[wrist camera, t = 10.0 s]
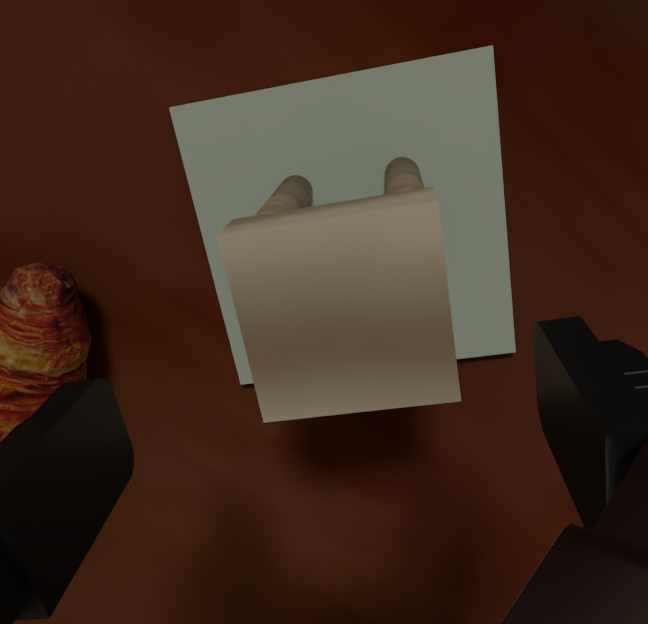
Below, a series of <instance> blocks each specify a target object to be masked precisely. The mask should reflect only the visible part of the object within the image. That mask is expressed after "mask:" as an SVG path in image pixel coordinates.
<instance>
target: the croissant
mask: <svg viewBox="0 0 648 624" xmlns="http://www.w3.org/2000/svg"><path fill="white" fill-rule="evenodd" d="M91 339H92V338H91V335H90V331H89V328H88V324H87V319H86V315H85V311H84V308H83V306H82V304H81V301H80V299H79V295H78V291H77V287H76V282H75V280H74V278H73V276H72V274H71V273H70V272H67V271H65V270H64V269H63V268H62V266H58V265H50V266H47V265H46V264H44V263H33V264H30V265H27V266H25V267H20V268H16V269H15V271H14V273H13V275H12V276H11V278H10V280H9V282H8V283H7V285H6V286H5V287H3V289H0V442H1V441H2V440H3V439H4V438H5V437H6V436H7V435H8V434H9V433H10V432H11V430H12V429H13V428H14V427H16V426H17V425H19V424H20V423H22V422H23V421H25V420H26V419H28V418H29V417H30V416H31V415H32V414H33V413H34V412H35V411H36V410H37V409H38V408H39V407H40V406H41V405H42V404H43V403H44V402H45V400H46V399H47V398H48V397H49V396H50V395H51V394H52V393H53V392H54V391H55V390H56V389H57V388H58V387H59V386H60V385H61V384H63V383H67V382H75V381H82V380H86V379H87V365H86V358H87V356H88V353H89V349H90V344H91Z"/></svg>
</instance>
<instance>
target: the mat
mask: <svg viewBox="0 0 648 624" xmlns="http://www.w3.org/2000/svg"><path fill="white" fill-rule="evenodd" d="M169 110H170V114H171V118H172V121H173V125H174V129H175V133H176V137H177V141H178V144H179V148H180V152H181V156H182V160H183V164H184V168H185V171H186V175H187V179H188V183H189V187H190V191H191V195H192V198H193V202H194V206H195V210H196V214H197V218H198V222H199V225H200V229H201V233H202V237H203V241H204V245H205V249H206V252H207V256H208V260H209V264H210V268H211V272H212V275H213V279H214V283H215V287H216V291H217V295H218V299H219V302H220V306H221V310H222V314H223V318H224V322H225V326H226V329H227V333H228V337H229V341H230V345H231V349H232V353H233V356H234V360H235V364H236V368H237V372H238V376H239V380H240V383H241V385H243V384H251V383H254V382H253V378H252V374H251V370H250V366H249V362H248V358H247V354H246V350H245V346H244V342H243V338H242V334H241V330H240V326H239V322H238V318H237V314H236V310H235V306H234V302H233V298H232V294H231V290H230V286H229V282H228V278H227V274H226V270H225V266H224V262H223V258H222V254H221V251H220V247H219V243H218V239H217V235H218V234H219V233H220V232H221V231H222V230H223V228H224V227H225V226H226V225H227V224H228V223H229V222H230V221H231V220H232V219H237V218H243V217H249V216H255V215H256V213H257V212H258V211H259V210H260V208H261V207H262V206H263V205H264V204H265V202H266V201H267V200H268V199H269V198H270V196H271V195H272V194H273V193H274V191H275V190H276V189H277V188H278V187H279V185H280V184H281V183H282V182H283V180H285V179H286V178H287V177H289V176H292V175H299V176H302V177H304V178H306V179H307V180H308V181H309V183H310V184H311V186H312V190H313V195H312V199H311V201H310V203H309V205H308V207H311V206H318V205H324V204H330V203H336V202H342V201H349V200H355V199H361V198H367V197H373V196H380V195H385V170H386V167H387V165H388V164H389V163H390V162H391V161H392V160H393V159H395V158H398V157H407V158H410V159H411V160H413V161H414V162H415V163H416V164H417V166H418V169H419V172H420V175H421V178H422V182H423V185H424V188H429V187H433V188H434V191H435V193H436V196H437V199H438V203H439V212H440V221H441V230H442V238H443V247H444V256H445V265H446V273H447V282H448V291H449V300H450V308H451V317H452V326H453V335H454V343H455V352H456V359H463V358H471V357H480V356H488V355H497V354H505V353H514V352H516V350H515V337H514V323H513V310H512V296H511V283H510V269H509V256H508V242H507V229H506V215H505V202H504V188H503V175H502V161H501V148H500V134H499V121H498V107H497V93H496V80H495V66H494V53H493V46H487V47H481V48H476V49H471V50H466V51H461V52H455V53H450V54H445V55H440V56H435V57H429V58H424V59H419V60H414V61H409V62H403V63H398V64H393V65H388V66H383V67H377V68H372V69H367V70H362V71H357V72H351V73H346V74H341V75H336V76H331V77H325V78H320V79H315V80H310V81H305V82H299V83H294V84H289V85H284V86H279V87H273V88H268V89H263V90H258V91H253V92H247V93H242V94H237V95H232V96H227V97H221V98H216V99H211V100H206V101H201V102H195V103H190V104H185V105H180V106H175V107H170V108H169Z"/></svg>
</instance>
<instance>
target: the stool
mask: <svg viewBox="0 0 648 624" xmlns="http://www.w3.org/2000/svg"><path fill="white" fill-rule="evenodd" d="M312 195H313V190H312V186H311V184H310V183H309V181H308V180H307V179H306V178H304V177H302V176H299V175H292V176H289V177H287V178H286V179H285V180H283V182H282V183H281V184H280V185H279V187H278V188H277V189H276V190H275V191H274V193H273V194H272V195H271V196H270V198H269V199H268V200H267V201H266V202H265V204H264V205H263V206H262V207H261V208H260V210H259V211H258V212H257V213H256V215H255V216H249V217H243V218H237V219H232V220H231V221H230V222H229V223H228V224H227V225H226V226H225V227H224V228H223V230H222V231H221V232H220V233H219V234H218V235H217V239H218V243H219V247H220V251H221V254H222V258H223V262H224V266H225V270H226V274H227V278H228V282H229V286H230V290H231V294H232V298H233V302H234V306H235V310H236V314H237V318H238V322H239V326H240V330H241V334H242V338H243V342H244V346H245V350H246V354H247V358H248V362H249V366H250V370H251V374H252V378H253V382H254V386H255V390H256V394H257V398H258V402H259V406H260V410H261V414H262V418H263V422H264V423H265V422H274V421H283V420H293V419H302V418H311V417H320V416H329V415H339V414H348V413H357V412H366V411H375V410H385V409H394V408H403V407H412V406H422V405H431V404H440V403H449V402H458V401H461V396H460V387H459V378H458V370H457V361H456V352H455V343H454V335H453V326H452V317H451V308H450V300H449V291H448V282H447V273H446V265H445V256H444V247H443V238H442V230H441V221H440V212H439V203H438V199H437V196H436V193H435V191H434V188H433V187H429V188H424V185H423V182H422V178H421V175H420V172H419V169H418V166H417V164H416V163H415V162H414V161H413V160H411V159H410V158H407V157H398V158H395V159H393V160H392V161H391V162H390V163H389V164H388V165H387V167H386V170H385V195H380V196H373V197H367V198H361V199H355V200H349V201H342V202H336V203H330V204H324V205H318V206H311V207H308V205H309V203H310V201H311V199H312Z"/></svg>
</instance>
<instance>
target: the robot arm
mask: <svg viewBox="0 0 648 624" xmlns="http://www.w3.org/2000/svg"><path fill="white" fill-rule="evenodd" d="M533 341H534V357H535V373H536V388H537V403H538V410H539V416H540V421H541V425H542V429H543V432H544V435H545V437H546V440H547V442H548V444H549V447H550V449H551V451H552V453H553V456H554V458H555V460H556V463H557V465H558V467H559V470H560V472H561V474H562V476H563V479H564V481H565V483H566V486H567V488H568V490H569V493H570V495H571V497H572V499H573V502H574V504H575V506H576V509H577V511H578V513H579V516H580V518H581V520H582V522H583V525H584V527H582V526H579V525H576V524H570V525H568V526H567V527H565V528H564V529H563V530H562V532H561V533H560V534H559V536H558V537H557V539H556V540H555V542H554V543H553V545H552V546H551V548H550V549H549V551H548V552H547V554H546V555H545V557H544V558H543V560H542V561H541V563H540V564H539V566H538V567H537V569H536V570H535V572H534V574H533V575H532V577H531V578H530V580H529V581H528V583H527V584H526V586H525V587H524V589H523V590H522V592H521V593H520V595H519V596H518V598H517V599H516V601H515V602H514V604H513V605H512V607H511V608H510V610H509V611H508V613H507V615H506V616H505V618H504V619H503V621H502V622H501V624H648V358H647V356H646V355H645V354H644V353H643V352H642V351H640V350H638V349H636V348H634V347H632V346H630V345H628V344H626V343H624V342H622V341H620V340H617V339H615V340H607V341H599V340H598V339H597V337H596V336H595V335H594V333H593V332H592V331H591V329H590V328H589V327H588V326H587V324H586V323H585V322H584V320H583V319H582V318H581V317H580V316H575V317H567V318H560V319H552V320H545V321H537V322H535V323H534V327H533ZM133 467H134V452H133V447H132V444H131V441H130V438H129V435H128V432H127V430H126V427H125V424H124V421H123V418H122V416H121V413H120V410H119V407H118V404H117V402H116V399H115V396H114V393H113V391H112V388H111V386H110V385H109V383H108V382H107V381H106V380H105V379H102V378H97V379H90V380H82V381H75V382H67V383H63V384H61V385H60V386H59V387H58V388H57V389H56V390H55V391H54V392H53V393H52V394H51V395H50V396H49V397H48V398H47V399H46V400H45V402H44V403H43V404H42V405H41V406H40V407H39V408H38V409H37V410H36V411H35V412H34V413H33V414H32V415H31V416H30V417H29V418H28V419H26V420H25V421H23V422H22V423H20V424H19V425H17V426H16V427H14V428H13V429H12V430H11V432H10V433H9V434H8V435H7V436H6V437H5V438H4V439H3V440H2V441H1V442H0V624H13V623H14V621H17V620H31V619H45V618H50V616H51V615H52V613H53V611H54V609H55V608H56V606H57V604H58V603H59V601H60V599H61V597H62V596H63V594H64V592H65V590H66V589H67V587H68V585H69V584H70V582H71V580H72V578H73V577H74V575H75V573H76V571H77V570H78V568H79V566H80V565H81V563H82V561H83V559H84V558H85V556H86V554H87V553H88V551H89V549H90V547H91V546H92V544H93V542H94V540H95V539H96V537H97V535H98V534H99V532H100V530H101V528H102V527H103V525H104V523H105V521H106V520H107V518H108V516H109V515H110V513H111V511H112V509H113V508H114V506H115V504H116V502H117V501H118V499H119V497H120V496H121V494H122V492H123V490H124V489H125V487H126V485H127V483H128V482H129V480H130V478H131V476H132V473H133Z"/></svg>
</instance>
